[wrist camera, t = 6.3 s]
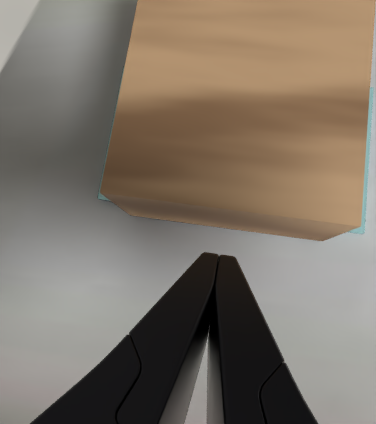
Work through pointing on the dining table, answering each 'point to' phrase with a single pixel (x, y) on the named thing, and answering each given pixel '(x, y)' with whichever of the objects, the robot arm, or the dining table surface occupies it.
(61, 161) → the dining table surface
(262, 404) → the robot arm
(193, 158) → the light brown wooden block
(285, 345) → the dining table surface
